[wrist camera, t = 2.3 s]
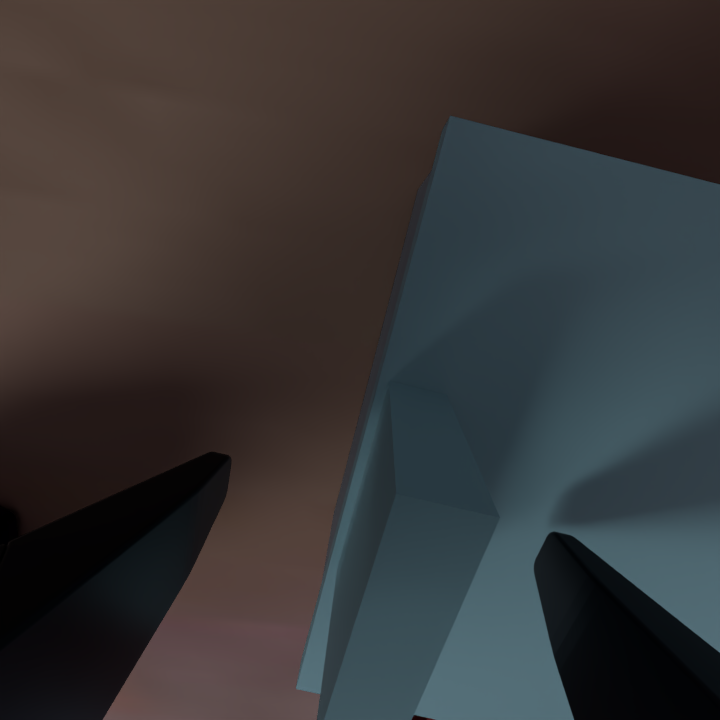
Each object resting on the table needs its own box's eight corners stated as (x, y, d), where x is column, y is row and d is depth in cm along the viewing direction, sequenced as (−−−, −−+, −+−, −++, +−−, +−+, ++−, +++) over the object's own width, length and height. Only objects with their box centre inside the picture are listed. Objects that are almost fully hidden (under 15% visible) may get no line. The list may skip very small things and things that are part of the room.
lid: (675, 720, 12) (863, 1025, 7) (305, 638, 12) (256, 898, 7) (1021, 287, 8) (2060, 358, 3) (438, 138, 7) (538, -46, 3)
